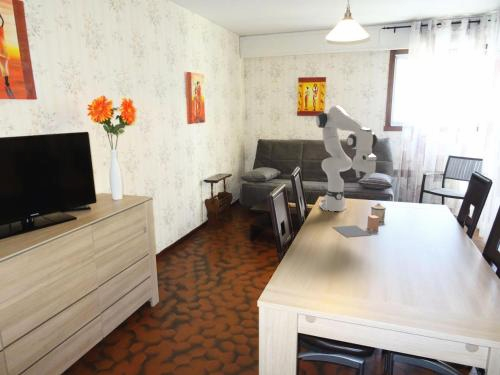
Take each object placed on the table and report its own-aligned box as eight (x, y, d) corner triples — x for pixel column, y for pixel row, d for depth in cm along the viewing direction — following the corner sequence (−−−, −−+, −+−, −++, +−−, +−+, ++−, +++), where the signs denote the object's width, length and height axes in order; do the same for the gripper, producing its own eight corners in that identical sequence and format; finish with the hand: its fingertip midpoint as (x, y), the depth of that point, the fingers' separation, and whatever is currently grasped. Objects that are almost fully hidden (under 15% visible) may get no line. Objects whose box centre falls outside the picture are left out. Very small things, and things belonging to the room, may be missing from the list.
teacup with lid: (384, 222, 227) (386, 205, 224) (370, 221, 230) (371, 204, 227) (384, 217, 238) (385, 201, 235) (370, 216, 241) (371, 200, 238)
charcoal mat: (332, 227, 217) (332, 227, 217) (355, 225, 221) (355, 225, 221) (346, 237, 200) (346, 236, 200) (371, 235, 204) (371, 234, 204)
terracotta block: (367, 228, 216) (368, 215, 215) (373, 227, 217) (374, 215, 216) (371, 230, 212) (372, 218, 210) (378, 230, 213) (379, 217, 211)
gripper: (350, 154, 215) (348, 176, 218) (368, 157, 196) (366, 181, 199) (359, 153, 217) (357, 175, 220) (378, 157, 197) (376, 181, 200)
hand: (362, 178), depth 209 cm, fingers open, 8 cm apart
